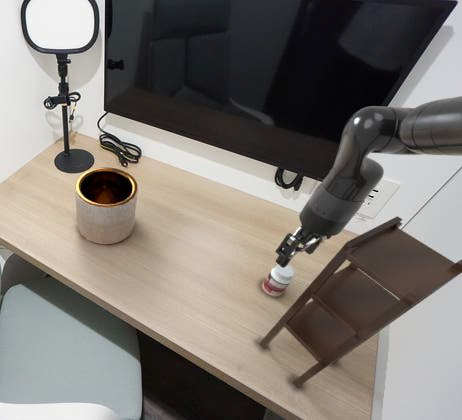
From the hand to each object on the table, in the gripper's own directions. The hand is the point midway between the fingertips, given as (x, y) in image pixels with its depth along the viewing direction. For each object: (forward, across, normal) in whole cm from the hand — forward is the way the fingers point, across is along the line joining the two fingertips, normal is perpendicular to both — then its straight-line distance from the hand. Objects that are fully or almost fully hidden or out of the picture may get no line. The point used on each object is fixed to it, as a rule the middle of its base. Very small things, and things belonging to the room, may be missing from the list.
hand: (293, 257), depth 72 cm
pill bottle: (+13, 0, 0) cm, 13 cm away
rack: (+13, -8, -14) cm, 21 cm away
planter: (+13, -28, +39) cm, 50 cm away
